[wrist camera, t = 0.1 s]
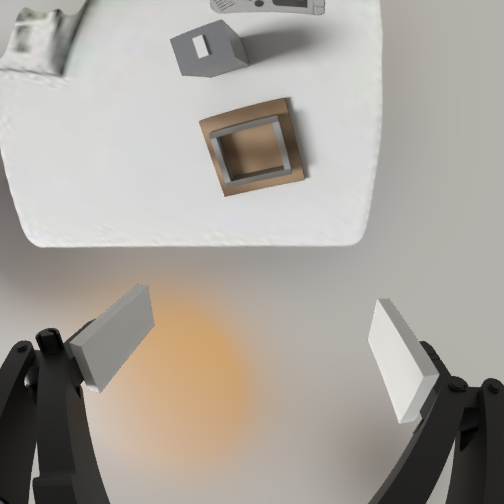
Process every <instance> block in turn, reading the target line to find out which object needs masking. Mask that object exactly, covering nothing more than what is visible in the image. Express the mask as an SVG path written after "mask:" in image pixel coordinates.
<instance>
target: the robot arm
mask: <svg viewBox="0 0 504 504" xmlns="http://www.w3.org/2000/svg"><path fill="white" fill-rule="evenodd" d="M153 327H154V319H153V313H152V307H151V301H150V294H149V287H148V285H137V286H135V287H134V288H133V289H131V290H130V291H129V292H128V293H126V294H125V295H124V296H123V297H122V298H120V299H119V300H118V301H117V302H116V303H114V304H113V305H112V306H111V307H110V308H108V309H107V310H106V311H105V312H104V313H103V314H101V315H100V316H99V317H98V318H97V319H94V320H92V321H90V322H88V323H86V324H85V325H84V326H83V327H82V329H79V330H78V331H77V332H76V333H75V334H74V335H73V336H71V337H70V338H69V339H68V340H67V341H66V342H64V343H63V342H62V339H61V336H60V333H59V331H58V330H57V329H55V328H48V329H44V330H42V331H40V332H39V333H38V334H37V335H36V337H35V338H36V340H37V343H38V346H39V348H40V350H34V348H33V346H32V343H31V342H30V341H20V342H18V343H16V344H15V345H14V346H13V347H12V349H11V351H10V352H9V354H8V356H7V358H6V359H5V361H4V363H3V365H2V366H1V368H0V504H28V501H29V490H30V480H31V472H32V465H33V459H34V453H35V448H36V442H37V448H38V449H37V450H38V461H39V471H40V476H39V477H36V478H34V479H33V493H34V499H35V504H110V502H109V499H108V497H107V494H106V491H105V488H104V485H103V482H102V479H101V475H100V472H99V469H98V466H97V461H96V458H95V454H94V450H93V446H92V441H91V437H90V432H89V427H88V422H87V416H86V411H85V404H84V397H83V390H82V387H81V385H80V384H81V383H82V382H83V381H85V383H86V385H87V387H88V389H89V390H92V391H95V392H97V393H101V392H102V391H103V389H104V388H105V387H106V385H107V384H108V383H109V382H110V380H111V379H112V377H113V376H114V375H115V374H116V373H117V371H118V370H119V368H121V366H122V365H123V364H124V362H125V361H126V360H127V359H128V357H129V356H130V355H131V354H132V352H133V351H134V350H135V349H136V347H137V346H138V345H139V344H140V343H141V341H142V340H143V339H144V338H145V336H146V335H147V334H148V333H149V331H150V330H151V329H152V328H153ZM368 342H369V344H370V346H371V349H372V351H373V354H374V356H375V359H376V361H377V364H378V366H379V369H380V371H381V374H382V377H383V379H384V382H385V384H386V387H387V390H388V393H389V395H390V398H391V401H392V404H393V407H394V409H395V413H396V415H397V418H398V421H399V424H400V423H406V422H411V421H414V420H415V419H416V417H417V416H418V414H419V412H420V414H421V416H422V420H421V421H420V423H419V424H418V426H417V428H416V429H415V431H414V432H413V436H412V438H411V440H410V442H409V444H408V445H407V447H406V449H405V450H404V452H403V454H402V456H401V457H400V459H399V461H398V462H397V464H396V465H395V467H394V468H393V470H392V471H391V473H390V474H389V476H388V478H387V479H386V480H385V482H384V483H383V485H382V486H381V487H380V489H379V490H378V491H377V493H376V494H375V495H374V497H373V498H372V499H371V501H370V502H369V503H368V504H426V502H427V500H428V498H429V497H430V495H431V493H432V491H433V489H434V487H435V485H436V483H437V481H438V479H439V476H440V474H441V472H442V470H443V467H444V465H445V463H446V461H447V458H448V455H449V453H450V451H451V448H452V445H453V443H454V440H455V449H454V459H453V467H452V473H451V479H450V485H449V490H448V495H447V499H446V504H504V385H503V384H502V383H501V382H500V381H498V380H497V379H493V378H488V379H486V380H485V381H484V382H483V384H482V386H481V387H469V386H468V384H467V383H466V382H465V381H464V380H463V379H461V378H459V377H456V376H451V374H450V373H449V371H448V370H447V368H446V367H445V365H444V364H443V362H442V361H441V360H440V358H439V356H438V355H437V354H436V352H435V350H434V349H433V347H432V346H431V345H429V344H428V343H427V342H425V341H418V339H417V338H416V336H415V335H414V333H413V332H412V330H411V329H410V327H409V326H408V324H407V323H406V321H405V320H404V319H403V317H402V316H401V314H400V313H399V311H398V310H397V309H396V307H395V306H394V305H393V303H392V302H391V300H390V299H377V302H376V307H375V312H374V317H373V321H372V325H371V329H370V333H369V337H368ZM24 380H26V382H27V385H26V386H25V383H24ZM455 437H456V438H455Z"/></svg>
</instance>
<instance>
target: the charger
mask: <svg viewBox="0 0 504 504" xmlns="http://www.w3.org/2000/svg"><path fill="white" fill-rule="evenodd" d="M170 41H171V44H172V47H173V50H174V53H175V56H176V59H177V62H178V65H179V68H180V71H181V74H182V76H197V77H210V78H211V77H214V76H217V75H220V74H223V73H226V72H229V71H233V70H236V69H240V68H243V67H247V66H250V65H249V62H248V59H247V56H246V53H245V50H244V47H243V44H242V41H241V38H240V37H239V36H238V35H237V34H236V33H235V32H234V31H233V30H232V29H231V28H230V27H229V26H228V25H227V24H226V23H225V22H224V21H223V20H219V21H216V22H213V23H210V24H207V25H204V26H201V27H199V28H196V29H193V30H191V31H188V32H186V33H183V34H181V35H179V36H176V37H174V38H172V39H170Z"/></svg>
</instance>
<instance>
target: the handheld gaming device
mask: <svg viewBox="0 0 504 504" xmlns="http://www.w3.org/2000/svg"><path fill="white" fill-rule="evenodd" d="M225 1H227V0H223V1H222V0H210V6H211V9H212V10H213V11H214V12H216V13H239V12H288V13H303V14H314V15H321V14H323V12H324V8H323V7H324V0H229V1H227V2H225ZM232 1H233V2H232ZM224 2H225V3H224ZM230 2H231V3H230ZM228 3H230V4H228ZM226 4H228V5H226ZM233 4H234V5H233ZM225 5H226V6H225ZM231 5H232V6H231ZM229 6H230V7H229ZM227 7H228V8H227Z"/></svg>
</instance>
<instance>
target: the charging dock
mask: <svg viewBox="0 0 504 504" xmlns="http://www.w3.org/2000/svg"><path fill="white" fill-rule="evenodd" d="M199 124H200V126H201V129H202V132H203V135H204V138H205V141H206V144H207V147H208V150H209V153H210V155H211V158H212V161H213V164H214V167H215V170H216V173H217V176H218V179H219V181H220V184H221V187H222V190H223V193H224V196H225V197H226V196H230V195H235V194H239V193H244V192H248V191H253V190H257V189H262V188H267V187H271V186H276V185H281V184H286V183H291V182H297V181H302V180H305V179H304V174H303V170H302V165H301V161H300V157H299V152H298V148H297V144H296V140H295V136H294V132H293V128H292V124H291V120H290V117H289V113H288V109H287V105H286V102H285V98H281V99H277V100H272V101H268V102H264V103H260V104H255V105H252V106H248V107H244V108H240V109H237V110H233V111H230V112H226V113H223V114H220V115H216V116H213V117H210V118H207V119H204V120H201V121H199Z"/></svg>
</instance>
